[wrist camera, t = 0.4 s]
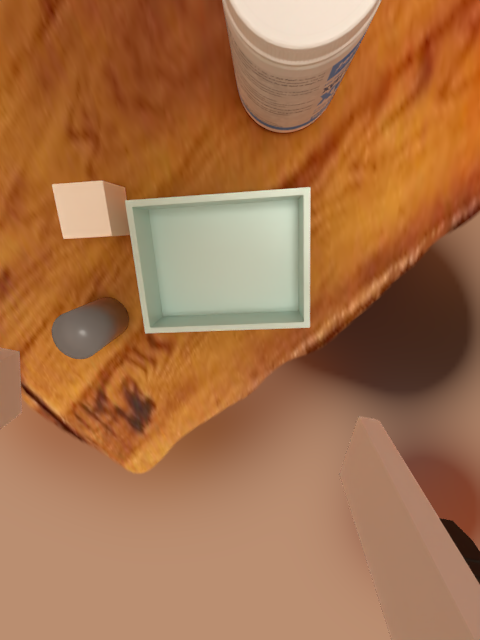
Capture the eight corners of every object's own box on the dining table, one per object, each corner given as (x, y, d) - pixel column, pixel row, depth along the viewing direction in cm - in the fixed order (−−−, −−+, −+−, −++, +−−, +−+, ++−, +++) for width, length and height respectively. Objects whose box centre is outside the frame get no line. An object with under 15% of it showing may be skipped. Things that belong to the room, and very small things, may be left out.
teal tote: (144, 204, 34) (125, 200, 29) (303, 193, 32) (310, 187, 28) (160, 320, 37) (145, 333, 33) (303, 314, 36) (309, 327, 31)
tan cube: (81, 190, 34) (51, 184, 29) (125, 187, 34) (102, 180, 29) (90, 237, 35) (63, 239, 31) (132, 235, 35) (111, 235, 30)
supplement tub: (329, 137, 31) (385, 59, 17) (234, 133, 31) (212, 54, 17) (343, 17, 28) (425, -198, 14) (239, 15, 28) (217, -194, 14)
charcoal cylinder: (85, 298, 37) (46, 313, 31) (125, 296, 37) (94, 311, 30) (93, 337, 39) (57, 359, 32) (131, 335, 38) (104, 358, 32)
